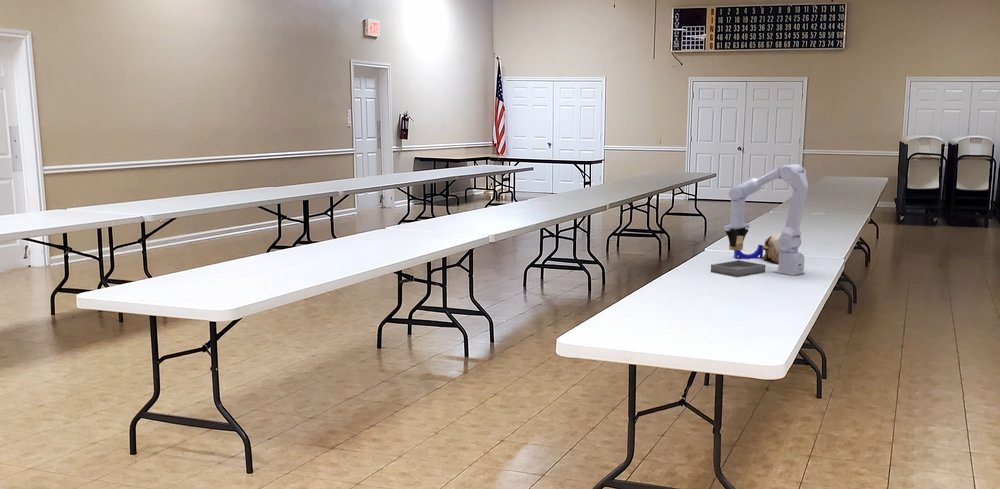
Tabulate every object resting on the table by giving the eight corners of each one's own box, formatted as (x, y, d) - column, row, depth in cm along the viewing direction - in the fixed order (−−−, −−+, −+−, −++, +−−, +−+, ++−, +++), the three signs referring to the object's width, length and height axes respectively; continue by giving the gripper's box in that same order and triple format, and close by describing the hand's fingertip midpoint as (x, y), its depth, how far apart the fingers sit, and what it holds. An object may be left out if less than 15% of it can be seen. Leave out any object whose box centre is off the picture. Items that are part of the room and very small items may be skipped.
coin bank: (770, 256, 382) (774, 227, 379) (804, 265, 369) (809, 235, 366) (750, 261, 372) (753, 232, 369) (784, 270, 360) (788, 240, 356)
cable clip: (735, 259, 376) (736, 246, 375) (733, 257, 380) (734, 244, 379) (763, 259, 375) (764, 246, 374) (761, 257, 379) (761, 244, 378)
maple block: (742, 249, 359) (743, 235, 358) (736, 250, 356) (737, 236, 356) (735, 248, 362) (735, 234, 361) (729, 249, 360) (729, 235, 359)
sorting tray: (765, 272, 345) (765, 264, 345) (737, 277, 335) (738, 269, 335) (738, 267, 356) (738, 260, 356) (710, 271, 346) (711, 264, 345)
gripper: (740, 212, 364) (739, 243, 366) (718, 214, 356) (717, 246, 358) (754, 213, 359) (752, 245, 361) (732, 216, 350) (730, 248, 352)
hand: (736, 246), depth 359 cm, fingers closed on maple block, 4 cm apart
